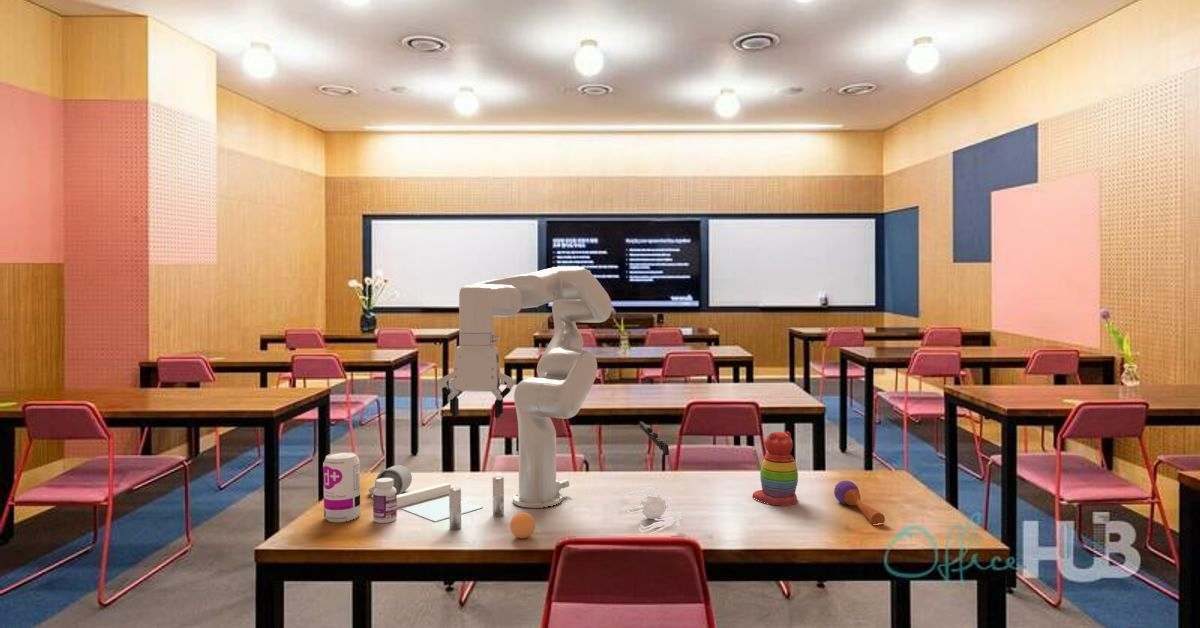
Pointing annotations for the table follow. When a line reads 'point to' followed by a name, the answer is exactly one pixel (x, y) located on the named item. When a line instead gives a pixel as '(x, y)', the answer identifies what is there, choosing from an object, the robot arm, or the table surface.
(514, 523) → the ball
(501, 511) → the post
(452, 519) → the post
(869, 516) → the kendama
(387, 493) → the pill bottle
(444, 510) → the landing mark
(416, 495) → the strip
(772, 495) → the stacking bear
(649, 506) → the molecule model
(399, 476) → the ceramic mug
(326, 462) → the supplement can
